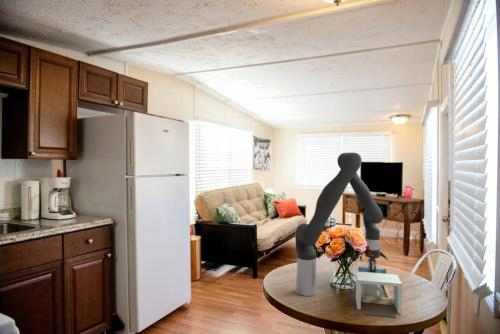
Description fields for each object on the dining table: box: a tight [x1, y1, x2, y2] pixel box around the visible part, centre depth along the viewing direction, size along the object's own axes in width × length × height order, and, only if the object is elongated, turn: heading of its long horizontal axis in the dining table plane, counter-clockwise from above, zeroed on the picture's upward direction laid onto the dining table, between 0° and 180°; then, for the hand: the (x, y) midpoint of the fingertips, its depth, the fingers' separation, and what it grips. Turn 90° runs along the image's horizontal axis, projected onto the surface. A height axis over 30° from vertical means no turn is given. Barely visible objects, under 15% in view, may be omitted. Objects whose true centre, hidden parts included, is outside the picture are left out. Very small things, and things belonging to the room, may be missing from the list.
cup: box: [362, 283, 384, 297], centre depth 159 cm, size 11×8×8 cm
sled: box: [357, 266, 394, 306], centre depth 165 cm, size 13×24×9 cm, turn 166°
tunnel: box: [355, 270, 403, 315], centre depth 152 cm, size 18×12×13 cm, turn 76°
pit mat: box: [364, 310, 397, 319], centre depth 142 cm, size 12×2×1 cm, turn 76°
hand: (371, 280), depth 176 cm, fingers closed on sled
